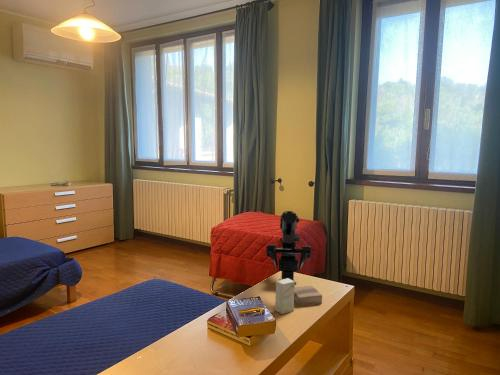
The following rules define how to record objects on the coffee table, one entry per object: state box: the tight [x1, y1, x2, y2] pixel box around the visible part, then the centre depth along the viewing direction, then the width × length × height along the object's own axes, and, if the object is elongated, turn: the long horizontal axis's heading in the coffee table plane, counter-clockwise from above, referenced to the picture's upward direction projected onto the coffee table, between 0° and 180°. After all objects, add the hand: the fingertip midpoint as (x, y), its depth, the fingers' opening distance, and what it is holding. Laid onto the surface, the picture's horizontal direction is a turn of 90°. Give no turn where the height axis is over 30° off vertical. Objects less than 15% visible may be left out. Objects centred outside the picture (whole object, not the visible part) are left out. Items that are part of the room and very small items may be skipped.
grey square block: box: [294, 285, 323, 307], centre depth 159 cm, size 10×10×4 cm
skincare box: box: [274, 278, 296, 315], centre depth 149 cm, size 6×4×12 cm
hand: (288, 269), depth 155 cm, fingers open, 9 cm apart
